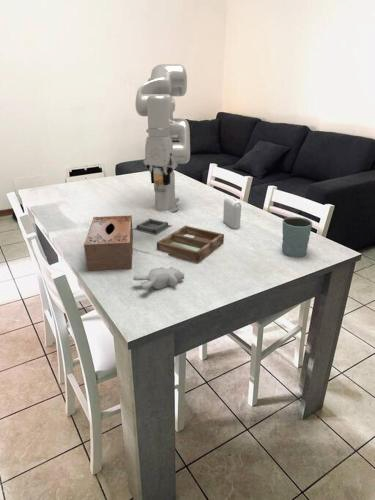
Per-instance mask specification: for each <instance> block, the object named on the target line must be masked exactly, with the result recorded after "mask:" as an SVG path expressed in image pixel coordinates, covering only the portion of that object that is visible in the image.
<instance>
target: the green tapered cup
mask: <svg viewBox="0 0 375 500" xmlns="http://www.w3.org/2000/svg"><path fill="white" fill-rule="evenodd" d="M312 226H313V221H311V220H310V219H308V218H306V217H299V216H290V217H285V218H284V219H283V220H282V243H281V252H282V254H283V255H285V256H286V257H290V258H303V257H305V256H306V255H307V251H308V248H309V246H308V245H309V242H310V236H311V230H312V228H313V227H312Z"/></svg>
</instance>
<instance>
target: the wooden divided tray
mask: <svg viewBox="0 0 375 500" xmlns="http://www.w3.org/2000/svg"><path fill="white" fill-rule="evenodd" d="M186 235H190V236H193V237H189V236H186ZM224 239H225V233H220V232H216V231H211V230H208V229H207V230H206V229H202V228H198V227H193V226H190V225H183V226H182V227H180V228H179V229H177V230H176V231H174V232H172V233H169V235H167V236H165V237H163V238H162V239H160V240H159V241H157V242H156V251H161V252H163V253H167V256H171V257H174V258H178V259H180V260H181V259H182V260H185V261H188V262H192V263H195V264H199V263H201V262H202V261H203V260H205V259H206V258H207V257H208V256H209V255H211V254H212V253H213V252H215V251H216V250H217V249H218V248H220V247H221V246H222V245H223V244H224Z"/></svg>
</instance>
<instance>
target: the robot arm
mask: <svg viewBox="0 0 375 500" xmlns="http://www.w3.org/2000/svg"><path fill="white" fill-rule="evenodd" d="M150 73H151V74H150V77H149V78H148V80H147V82H145V83H144V84H142V85H141V86H139V88H138V89H137V91H136V95H135V110H136V113H137V114H138V116H140V117H147V129H146V133H147V134H148V135H147V137H146V140H145V147H144V159H143V164H144V165H145V166H146V168H147V169H148V172H149V173H150V183H151V184H154V178H153V167H154V166H159V167H163V169H164V173H165V174H164V175H163V177H164V185H167V192H162V193H158V192H155V191H154V198H155V199H154V202H155V203H154V204H155V205H153V206H152V207H151V208H152V210H153V211H155V212H159V213H176V212H178V211H179V206H178V205H177V203H178V202H179V201H180V198H179V197H176V179H175V178H176V174H175V171H174V169H176V168H177V167H178V164H183V165H184V164H187V163H189V161H190V158H191V139H190V138H191V136H190V135H191V133H190V130H191V129H190V124H189V121H188V120H187V119H185V118H180V117H179V118H177V117H176V118H174V112H175V110H176V100H175V99H174V97H183V96H185V94H186V93H187V89H188V75H187V71H186V69H185V66H183V65H182V64H177V63H176V64H175V63H172V64H171V63H170V64H165V63H164V64H161V63H160V64H157V65H155V66H154V67H152V70H151V72H150Z"/></svg>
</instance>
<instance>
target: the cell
mask: <svg viewBox="0 0 375 500" xmlns="http://www.w3.org/2000/svg"><path fill="white" fill-rule="evenodd" d="M164 174H165V173H164V169H163V167H159V166H154V167H153V178H154V183H153V188H154V189H153V192H154V193H155V192H158V193H162V192H167V185H164V177H163V175H164Z"/></svg>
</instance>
